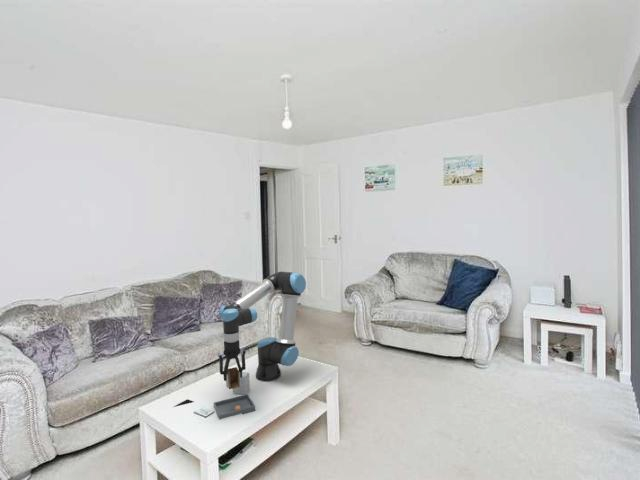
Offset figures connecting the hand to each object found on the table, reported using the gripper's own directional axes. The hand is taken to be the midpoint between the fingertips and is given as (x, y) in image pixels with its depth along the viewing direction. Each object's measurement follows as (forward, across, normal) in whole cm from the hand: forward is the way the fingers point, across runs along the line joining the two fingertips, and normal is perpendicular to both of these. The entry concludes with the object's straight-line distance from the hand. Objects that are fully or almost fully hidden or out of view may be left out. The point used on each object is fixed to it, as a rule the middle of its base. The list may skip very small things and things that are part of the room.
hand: (233, 385), depth 184 cm
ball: (+12, -1, +3) cm, 13 cm away
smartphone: (+14, +25, -16) cm, 33 cm away
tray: (+13, 0, -1) cm, 13 cm away
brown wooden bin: (0, 0, 0) cm, 0 cm away
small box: (+13, -8, -17) cm, 23 cm away
